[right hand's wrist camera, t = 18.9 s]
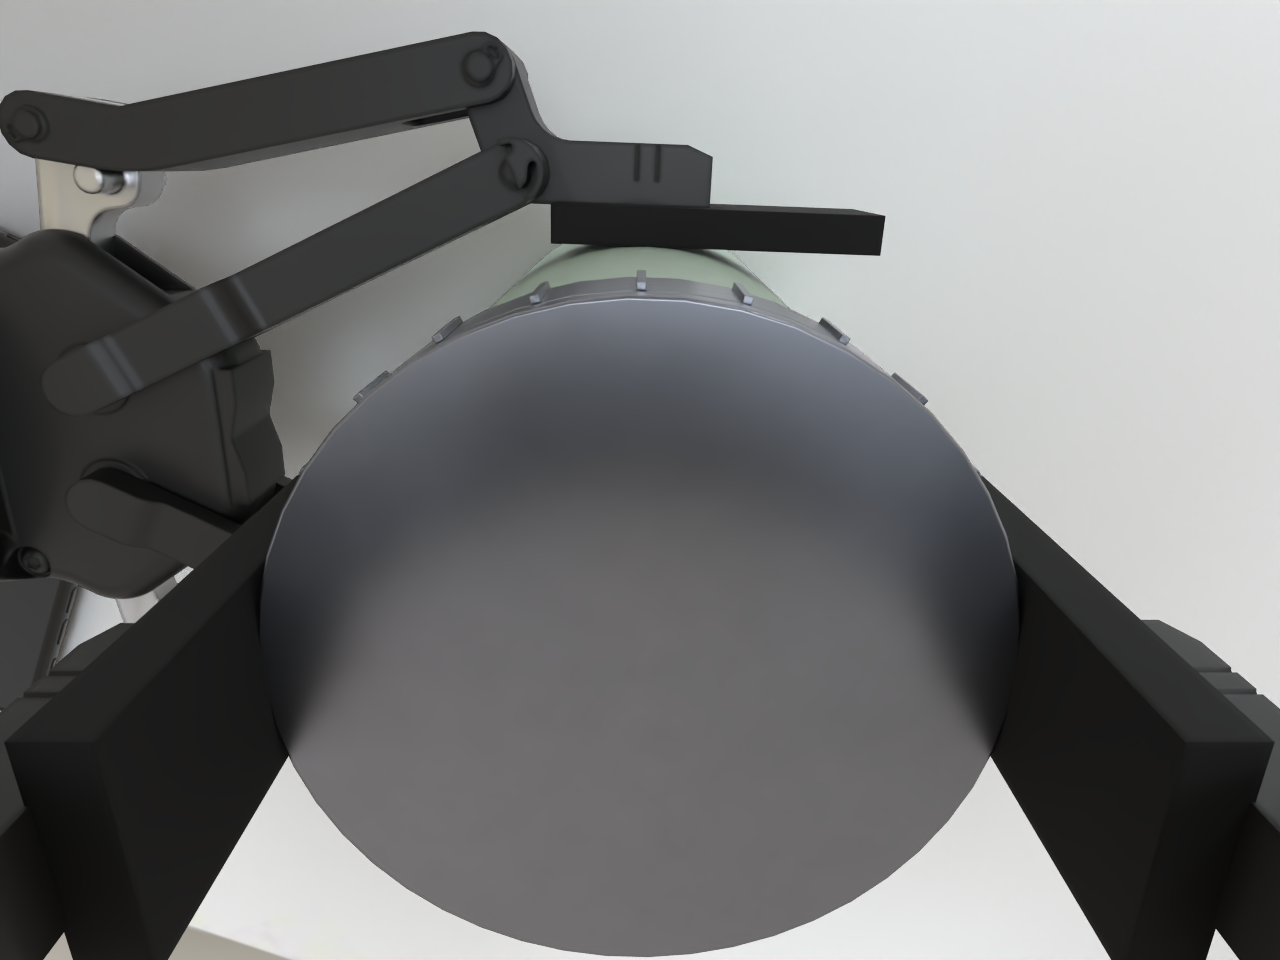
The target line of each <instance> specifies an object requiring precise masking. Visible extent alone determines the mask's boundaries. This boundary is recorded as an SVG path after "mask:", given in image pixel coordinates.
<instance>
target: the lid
mask: <svg viewBox="0 0 1280 960" xmlns="http://www.w3.org/2000/svg"><path fill="white" fill-rule="evenodd" d="M432 339H433V341H432V342H431V343H429V344H428V345H427V346H425V347H424V348H423V349H421V350H420V351H419V352H417V353H416V354H415V355H413V356H412V357H411V358H409V359H408V360H407V361H405V362H404V363H403V364H402V365H401V366H399V367H398V368H397V369H396V370H395V371H394V372H392V373H391V374H389V373H388V372H387V371H385V372H384V373H382V374H381V375H380V376H379V377H377V378H376V379H375V380H374V381H372V382H371V383H370V384H369V385H367V386H366V387H365V388H364V389H363V390H361V391H360V392H359V393H358V394H357V395H356V396H355V397H354V398H353V399H354V400H355V401H356V402H357V403H358V404H357V405H356V406H355V407H354V408H353V409H352V410H351V411H350V412H349V413H348V414H347V415H346V416H345V417H344V418H343V419H342V420H341V421H340V422H339V423H338V424H337V425H336V426H335V427H334V428H333V429H332V430H331V432H330V433H329V434H328V436H327V437H326V439H325V440H324V441H323V443H322V444H321V445H320V447H319V448H318V449H317V451H316V452H315V454H314V455H313V456H312V458H311V459H310V460H309V462H308V463H307V464H306V465H304V466H303V467H302V468H301V470H300V472H299V475H300V476H299V478H298V480H297V482H296V484H295V486H294V488H293V490H292V492H291V493H290V495H289V497H288V499H287V501H286V503H285V505H284V507H283V509H282V511H281V514H280V517H279V520H278V523H277V525H276V528H275V531H274V534H273V537H272V540H271V543H270V546H269V549H268V552H267V556H266V561H265V567H264V573H263V579H262V585H261V591H260V596H259V643H260V649H261V655H262V661H263V666H264V672H265V677H266V683H267V689H268V694H269V699H270V704H271V709H272V714H273V719H274V722H275V726H276V729H277V731H278V733H279V735H280V737H281V740H282V742H283V744H284V746H285V749H286V751H287V753H288V755H289V757H290V760H291V762H292V764H293V766H294V768H295V769H296V771H297V773H298V774H299V776H300V777H301V779H302V781H303V782H304V784H305V785H306V787H307V789H308V790H309V792H310V793H311V795H312V796H313V798H314V800H315V801H316V803H317V804H318V805H319V806H320V807H321V809H322V810H323V811H324V812H325V814H326V815H327V816H328V817H329V818H330V820H331V821H332V822H333V823H334V824H335V826H336V827H337V828H338V829H339V831H340V832H341V833H342V834H343V835H344V836H345V837H346V838H347V839H348V840H349V841H350V842H351V843H352V844H353V845H354V846H355V847H356V848H358V849H359V850H360V851H361V852H362V853H363V854H364V855H365V856H366V857H367V858H368V859H369V860H370V861H371V862H372V863H373V864H375V865H376V866H377V867H379V868H380V869H381V870H383V871H384V872H385V873H387V874H388V875H389V876H391V877H392V878H393V879H395V880H396V881H397V882H399V883H400V884H401V885H403V886H404V887H405V888H407V889H408V890H410V891H412V892H413V893H415V894H417V895H419V896H420V897H422V898H424V899H425V900H427V901H429V902H430V903H432V904H434V905H436V906H437V907H439V908H441V909H442V910H444V911H446V912H449V913H451V914H453V915H455V916H458V917H460V918H462V919H464V920H466V921H469V922H471V923H473V924H475V925H477V926H480V927H482V928H485V929H488V930H491V931H494V932H497V933H500V934H503V935H506V936H509V937H512V938H515V939H518V940H521V941H524V942H529V943H533V944H537V945H542V946H546V947H551V948H555V949H559V950H564V951H572V952H580V953H588V954H596V955H604V956H634V957H654V956H669V955H683V954H694V953H700V952H706V951H712V950H718V949H724V948H730V947H735V946H738V945H742V944H746V943H749V942H753V941H757V940H760V939H764V938H768V937H771V936H775V935H777V934H780V933H783V932H785V931H788V930H790V929H793V928H796V927H798V926H801V925H803V924H806V923H809V922H811V921H814V920H816V919H818V918H820V917H822V916H824V915H826V914H828V913H829V912H831V911H833V910H835V909H837V908H839V907H841V906H843V905H845V904H847V903H849V902H851V901H853V900H854V899H856V898H857V897H859V896H860V895H862V894H863V893H865V892H866V891H868V890H870V889H871V888H873V887H874V886H876V885H877V884H879V883H880V882H882V881H883V880H885V879H886V878H888V877H889V876H890V875H891V874H892V873H894V872H895V871H896V870H897V869H898V868H900V867H901V866H902V865H903V864H905V863H906V862H907V861H908V860H909V859H911V858H912V857H913V856H914V855H915V854H917V853H918V852H919V851H920V850H921V849H922V848H923V847H924V846H925V845H926V844H927V843H928V842H929V840H930V839H931V838H932V837H933V836H934V835H935V834H936V833H937V832H938V831H939V830H940V829H941V828H942V827H943V826H944V825H945V824H946V823H947V822H948V820H949V819H950V818H951V816H952V815H953V814H954V812H955V811H956V810H957V808H958V807H959V805H960V804H961V803H962V801H963V800H964V799H965V797H966V796H967V795H968V793H969V792H970V791H971V789H972V788H973V786H974V784H975V783H976V781H977V779H978V777H979V775H980V774H981V772H982V770H983V768H984V766H985V764H986V763H987V761H988V759H989V757H990V755H991V754H992V752H993V750H994V747H995V745H996V742H997V739H998V737H999V734H1000V732H1001V729H1002V726H1003V724H1004V721H1005V718H1006V714H1007V709H1008V704H1009V698H1010V693H1011V687H1012V682H1013V676H1014V671H1015V665H1016V660H1017V653H1018V647H1019V641H1020V634H1021V618H1020V605H1019V592H1018V580H1017V576H1016V572H1015V568H1014V564H1013V559H1012V555H1011V551H1010V547H1009V543H1008V538H1007V535H1006V533H1005V530H1004V528H1003V525H1002V523H1001V520H1000V518H999V516H998V513H997V511H996V508H995V506H994V503H993V501H992V499H991V496H990V494H989V492H988V490H987V489H986V487H985V485H984V484H983V482H982V480H981V479H980V478H981V477H982V476H981V474H980V472H979V470H977V469H976V468H975V467H974V466H973V465H972V464H971V462H970V460H969V459H968V457H967V455H966V454H965V452H964V451H963V450H962V448H961V447H960V446H959V445H958V444H957V442H956V441H955V440H954V439H953V438H952V436H951V435H950V434H949V433H948V432H947V430H946V429H945V428H944V427H943V426H942V424H941V423H940V422H939V421H938V420H937V418H936V417H935V416H934V415H933V414H932V412H930V411H929V410H928V409H927V408H926V407H925V406H924V405H925V404H926V403H927V402H928V400H927V399H926V398H925V397H924V396H923V395H922V394H921V393H920V392H918V391H917V390H916V389H915V388H913V387H912V386H911V385H910V384H908V383H907V382H906V381H905V380H904V379H902V378H901V377H900V376H899V375H897V374H896V373H894V374H893V375H892V376H890V375H889V374H887V373H886V372H885V371H884V370H883V369H881V368H880V367H879V366H878V365H877V364H876V363H874V362H873V361H872V360H871V359H870V358H868V357H867V356H866V355H865V354H864V353H862V352H861V351H860V350H859V349H857V348H856V347H854V346H853V345H851V344H850V343H848V342H849V341H850V338H849V337H848V336H847V335H845V334H844V333H843V332H842V331H840V330H839V329H838V328H837V327H836V326H834V325H833V324H832V323H831V322H830V321H828V320H826V319H825V318H822V319H821V321H820V322H819V323H818V322H816V321H814V320H812V319H809V318H807V317H805V316H803V315H801V314H799V313H797V312H795V311H793V310H791V309H789V308H786V307H784V306H782V305H780V304H778V303H776V302H773V301H770V300H767V299H764V298H761V297H757V296H754V295H751V294H750V293H749V292H748V291H747V289H746V288H745V287H744V286H743V285H742V284H740V283H737V282H734V283H733V287H732V288H729V287H724V286H718V285H713V284H707V283H701V282H695V281H690V280H684V279H674V278H649V277H646V270H637V277H621V278H610V279H600V280H589V281H579V282H575V283H570V284H566V285H562V286H558V287H553V288H550V285H549V282H548V281H546V282H543V283H540V284H539V285H538V286H537V288H536V289H535V290H534V291H533V292H532V293H529V294H526V295H524V296H521V297H518V298H516V299H513V300H510V301H508V302H505V303H503V304H500V305H497V306H495V307H492V308H489V309H487V310H484V311H483V312H481V313H479V314H477V315H475V316H474V317H472V318H470V319H468V320H466V321H464V322H463V321H462V320H461V318H460V316H458V317H456V318H454V319H453V320H451V321H450V322H449V323H448V324H447V325H445V326H444V327H443V328H442V329H441V330H439V331H438V332H437V333H436V334H435V335H433V336H432Z"/></svg>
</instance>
